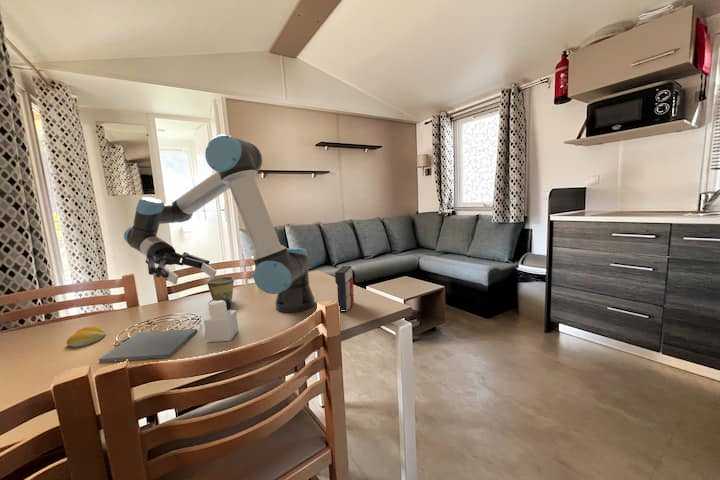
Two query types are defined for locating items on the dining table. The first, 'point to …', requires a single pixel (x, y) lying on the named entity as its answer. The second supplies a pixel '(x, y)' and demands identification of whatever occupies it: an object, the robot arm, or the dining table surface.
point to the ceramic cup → (221, 287)
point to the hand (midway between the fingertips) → (196, 277)
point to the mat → (150, 345)
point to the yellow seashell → (86, 336)
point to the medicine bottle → (220, 321)
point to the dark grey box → (344, 287)
